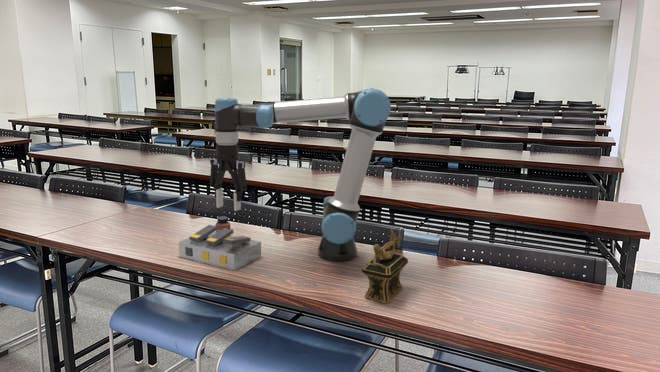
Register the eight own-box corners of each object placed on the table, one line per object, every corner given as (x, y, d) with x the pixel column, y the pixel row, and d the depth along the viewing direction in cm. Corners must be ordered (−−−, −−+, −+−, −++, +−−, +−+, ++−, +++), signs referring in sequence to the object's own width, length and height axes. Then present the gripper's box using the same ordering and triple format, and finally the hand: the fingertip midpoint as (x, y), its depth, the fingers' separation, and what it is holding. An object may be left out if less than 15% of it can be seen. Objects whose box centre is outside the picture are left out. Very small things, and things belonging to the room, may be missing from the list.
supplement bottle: (224, 240, 195) (224, 214, 192) (233, 244, 191) (233, 217, 188) (212, 244, 190) (212, 217, 188) (222, 247, 186) (221, 220, 184)
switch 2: (233, 232, 179) (233, 229, 178) (214, 245, 170) (214, 241, 169) (225, 231, 180) (224, 227, 180) (206, 243, 171) (205, 240, 171)
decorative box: (388, 307, 139) (391, 244, 135) (359, 299, 144) (361, 238, 140) (411, 284, 156) (414, 227, 152) (384, 277, 161) (387, 222, 157)
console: (261, 256, 178) (261, 239, 176) (233, 270, 164) (233, 252, 162) (208, 244, 189) (208, 228, 188) (178, 257, 175) (177, 239, 174)
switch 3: (250, 241, 175) (250, 237, 175) (231, 244, 166) (232, 240, 165) (241, 239, 177) (242, 235, 177) (222, 242, 167) (223, 238, 167)
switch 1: (217, 229, 182) (216, 226, 182) (198, 242, 173) (197, 238, 173) (209, 227, 184) (208, 224, 184) (189, 240, 175) (189, 236, 174)
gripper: (257, 144, 159) (258, 210, 164) (211, 140, 168) (213, 202, 173) (243, 147, 152) (244, 214, 157) (197, 142, 161) (199, 206, 166)
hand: (228, 208), depth 165 cm, fingers open, 7 cm apart
